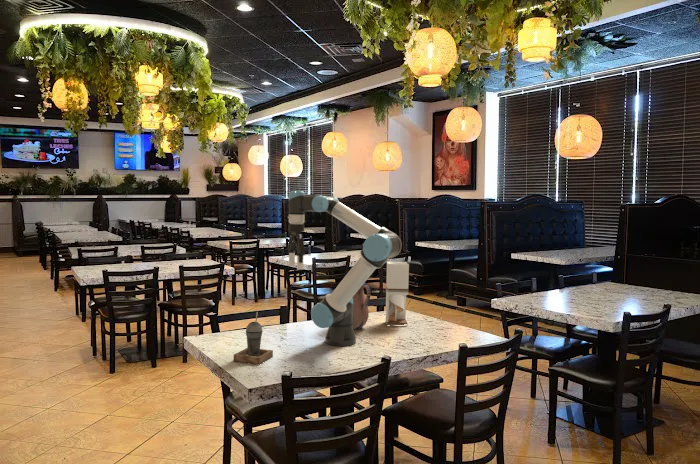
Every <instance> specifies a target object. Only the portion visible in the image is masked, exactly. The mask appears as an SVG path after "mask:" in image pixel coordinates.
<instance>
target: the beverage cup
mask: <svg viewBox="0 0 700 464" xmlns="http://www.w3.org/2000/svg"><path fill="white" fill-rule="evenodd" d="M258 313H259V311H256V313H255V321H251V322H250V323H248V324H247V325H246V327H245V334H246V343H247V344H246V345H247V346H246V348H248V356H256V357H259V353H260V349H261V342H262V336H263V332H264V331H263V326H262V324H261V323H260V322H258V320H257V319H258Z"/></svg>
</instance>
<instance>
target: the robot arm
mask: <svg viewBox="0 0 700 464" xmlns="http://www.w3.org/2000/svg"><path fill="white" fill-rule="evenodd" d="M288 193H289V194H288V216H287V219H288V223H289V224H288V228H287V229H288V232H289V238H288V246H287V251H288V267H295V264H296V270H297V271H299V270H304V256H305V254H306V251H305V243H304V234H302V233H303V232H305V224H304V223H305V222H306V221H305V218H306V217H305V216H306V215H305V212H315V213H322V212H323V213H324V212H326V213H327V214H329V215H331V216H333V217H334V218H336V219H337V220H338V221H340V222H341V223H343V224H345V225H346V226H348V227H349V228H351V229H352V230H354V231H355V232H357V233H359V234H360V235H362V236H363V237H365V240H364V242H363V246H362V247H363V248H362V249H361V250H360V253H359V254H360V257H359V258H358V259H357V260H356V262H355V263H354V265H352V267H351V268H350V270H349V271H347V274H345V276H344V277H343V279H342V280H341V281H340V282H339V283H338V285H337V286H336V288H334V289H333V291H332V292H331V293H327V294H326V295H325V296H324V297H323V299H322V300H320V301H319V302H318V303H316V304H315V305H313V307H312V308H311V311H310V315H311V321H312V322H313V324H314V325H315V326H316V327H318V328H321V329H326V328H327V331H326V334H325V337H324V338H325V339H324V342H325V344H327V345H330V346H335V347H336V346H337V347H347V346H352V345H355V344H357V337H356V333H355V331H354V330H355V329H353V298H352V297H353V296H354V295H355V294H356V292H357V291H358V290H359V289H360V287H361V286H362V285H363V284H364V283H366V282H367V280H368V279H369V277H371V276H372V274H373V273H374V272H375V271H376V269H381V268H382V267H383V266H384V264H386V263H387V262H388V260H389V259H393V258H396V257H397V256H398V255H399V254H400V252H401V250H402V248H403V247H402V245H403V243H402V240H401V238H400V236H398V235H397V233H395V232H393V231H391V230H389V229H388V228H386V227H385V226H382V227H381V226H379V225H377V224H375V223H374V222H372V221H371V220H369V219H368V218H366V217H364V216H363V215H362V214H359V213H358V212H356V211H355V210H354V209H351V208H350V207H349V206H346V205H345V204H343V203H342V202H340V201H339V199H338V197H336V196H333V195H320V194H318V195H306V194H305V191H299V190H298V191H297V190H292V191H289V192H288ZM296 251H297V254H295V253H296ZM295 257H296V259H295ZM296 260H297V261H296Z"/></svg>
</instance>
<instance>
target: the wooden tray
mask: <svg viewBox="0 0 700 464" xmlns="http://www.w3.org/2000/svg"><path fill="white" fill-rule="evenodd" d="M273 354H274V350H273V349H265V348H260V353H259V357H256V356H248V347H246V348H244V349H242V350H240V351H239V352H238V351H237V352H236V353H233V361H232V362H234V363H239V362H240V363H241V364H248V363H250V364H249V365H256V364H259V365H258V366H260V364H261V365H262V364H264V363H266V362H267V361H268V360H270V359H272V358H274V355H273ZM265 361H266V362H265ZM263 362H264V363H263Z"/></svg>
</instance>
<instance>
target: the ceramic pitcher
mask: <svg viewBox="0 0 700 464" xmlns="http://www.w3.org/2000/svg"><path fill="white" fill-rule="evenodd" d="M364 288H365V289H366V295H365V291H364ZM371 291H372V290H371V287H370V286H369V285H366V282H365V283H364V284H363V285H362V286H361V287H360V289H359V290H358V291H357V292H356V294H355V295H354V296H353V297H352V298H353V330H359V329H361V328H363V327H364V326H365V325H366V323H367V322H368V319H369V302H370V299H371V293H372V292H371Z"/></svg>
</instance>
